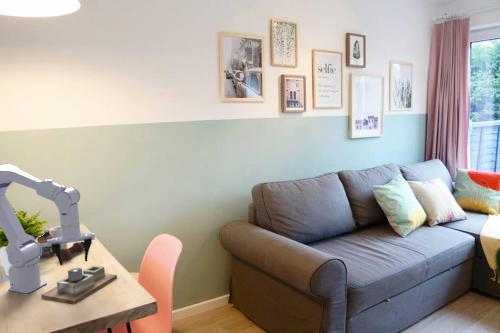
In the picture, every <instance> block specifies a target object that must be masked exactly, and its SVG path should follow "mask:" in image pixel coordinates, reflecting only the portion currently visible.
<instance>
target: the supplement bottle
mask: <svg viewBox="0 0 500 333" xmlns="http://www.w3.org/2000/svg"><path fill="white" fill-rule="evenodd" d="M43 230H44V233H45V234H44V235H43V236H41V237H39V236H38V237H37V240H36V241H37V242H38V243H39V244H40V245H41V247H42V253H41V254H40V256H39V259H49V258H52V257H54V256H55V255H56V254H55V253H54V252H53V250H52V246H48V243H47V240H48V239H53V236H52V235H51V233H50V229H43Z"/></svg>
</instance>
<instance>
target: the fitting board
mask: <svg viewBox="0 0 500 333" xmlns="http://www.w3.org/2000/svg"><path fill="white" fill-rule="evenodd" d="M105 271H106V270H105V266H100V265H91V266H90V267H88V268H86V269H84V270H82V274H83V280H81V281H79V282H77V283H70V282H69V278H68V276H66V277H64V278H62V279H60V280H58V281H56V287H53V288H52V289H49V290H48V291H46V292H44V293H42V294H41V298H42V299H45V300H46V299H47V300H51V301H56V302H63V303H68V304H77V303H78V302H80V301H81V300H83V299H85V298H86V297H88V296H89V295H91V294H93V293H94V292H96V291H97V290H99V289H101V288H102V287H104V286H106V285H107V284H109V283H111V282H112V281H115V279H117V278H118V277H117V276H118V275H117V274H111V273H106V272H105Z"/></svg>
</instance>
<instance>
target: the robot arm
mask: <svg viewBox="0 0 500 333" xmlns="http://www.w3.org/2000/svg"><path fill="white" fill-rule="evenodd" d="M12 183H15V184H18V185H19V184H20V185H22V186H25V187H27V188H30V189H32V190H35V192H36V194H37V195H38V196H41V197H42V198H45V199H47V200H49V201H51V202H54V204H55V206H56V207H57V209H58V212H59V220H60V226H61V232H62V236H61V237H57V238H53V239H48V240H47V243H48V246H52V250H53V252H54V253H55V254H54V255H55V256H56V258H57V260H58V262H59V265H60V267H62V266H63V264H64V261H63V260H62V254H61V244H64V243H67V244H70V243H76V242H84V249H83V250H84V261H85V262H88V256H89V251H90V248H91V246H92V243H93V241H92V240H94V241H95V240H96V237H95V236H96V235H95V232H89V233H87V232H86V233H85V232H84V233H81V226H80V216H79V204H78V203H79V202H80V200H81V193H80V192H79V190H78V189H77V188H75V187H66V186H65V185H60V184H58V183H56V182H54V180H53V179H51V178H50V179H43V180H41V179H39V178H36V177H34V176H33V175H30V174H29V173H27V172H24V171H23V170H21V169H20V168H18V166H14V165H12V164H9V163H5V164H2V165H0V228H1V230H2V231H3V234H4V235H5V237H6V239H7V241H8V243H7V245H6V248H5V252H6V254H7V259H8V263H9V264H10V266H9V268H8V281H9V286H10V287H8V288H7V289H8V291H12V292H18V293H22V294H30V293H32V292H33V291H35V290H37V289H39V288H41V287H43V286H45V285H47V281H42V279H41V273H40V272H41V271H40V265H39V260H40V254H41V253H42V247H41V245H40V244H39V243H38V241H37V240H36V239H35V237H34V236H33V235H30V234H28V233H27V232H26V231H25V229H24V227H23V225H22V224H21V222H20V220H19V217H18V216H17V214H16V212H15V210H14V209H13V207H12V205H11V203H10V200H8V197H7V196H6V192H7V190H8V188H9V187H10V186H11V184H12Z"/></svg>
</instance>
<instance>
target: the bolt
mask: <svg viewBox="0 0 500 333" xmlns="http://www.w3.org/2000/svg"><path fill="white" fill-rule="evenodd" d="M83 250H85V249H84V241H77V242H73V245H71V246H70V247H69V248H68V247H67V249H61V254H62V260H63V262H69V261H70V259H71V257H72V256H73V255H75V254H78V253H79V254H80V253H82V252H83Z"/></svg>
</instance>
